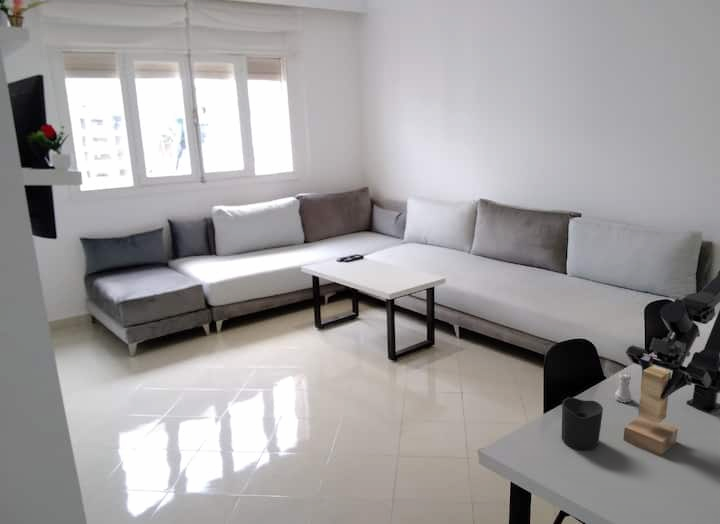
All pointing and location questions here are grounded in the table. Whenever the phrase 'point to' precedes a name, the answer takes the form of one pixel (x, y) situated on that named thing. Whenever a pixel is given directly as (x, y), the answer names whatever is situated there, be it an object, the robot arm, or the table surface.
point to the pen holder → (581, 423)
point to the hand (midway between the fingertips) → (651, 394)
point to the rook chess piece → (623, 388)
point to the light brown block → (650, 435)
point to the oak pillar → (653, 394)
